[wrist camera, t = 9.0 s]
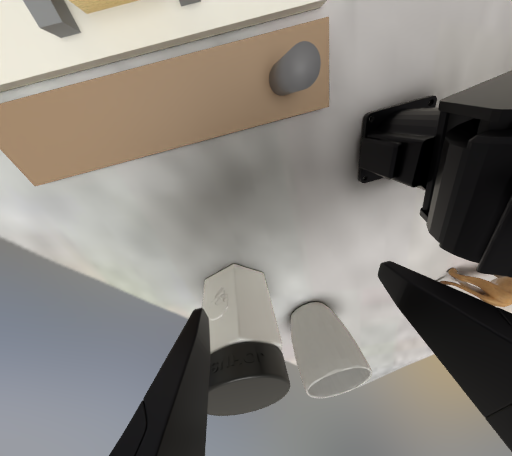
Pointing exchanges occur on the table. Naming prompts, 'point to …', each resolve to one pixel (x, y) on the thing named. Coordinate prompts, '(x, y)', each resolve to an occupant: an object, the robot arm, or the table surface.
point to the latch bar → (98, 4)
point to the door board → (149, 78)
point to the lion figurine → (485, 288)
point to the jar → (242, 343)
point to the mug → (326, 352)
